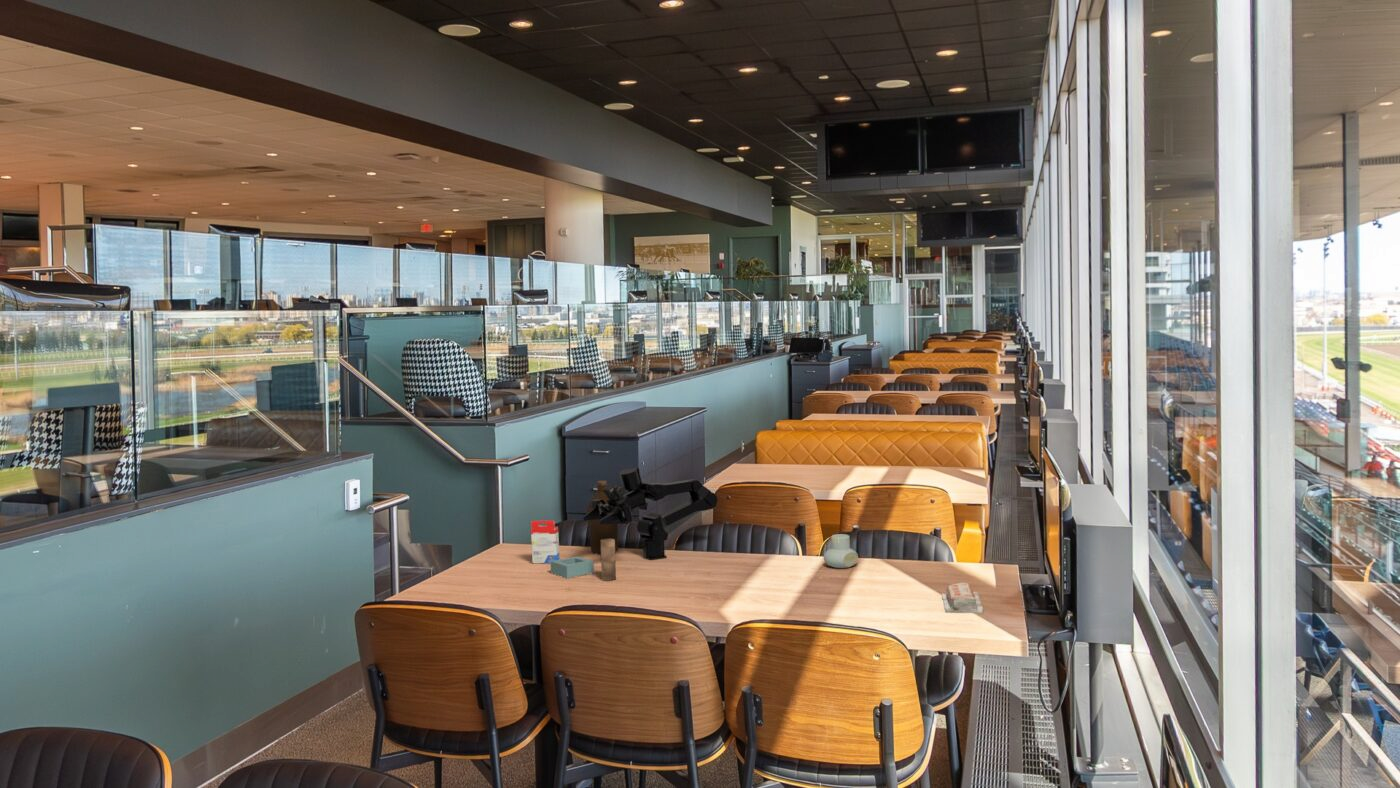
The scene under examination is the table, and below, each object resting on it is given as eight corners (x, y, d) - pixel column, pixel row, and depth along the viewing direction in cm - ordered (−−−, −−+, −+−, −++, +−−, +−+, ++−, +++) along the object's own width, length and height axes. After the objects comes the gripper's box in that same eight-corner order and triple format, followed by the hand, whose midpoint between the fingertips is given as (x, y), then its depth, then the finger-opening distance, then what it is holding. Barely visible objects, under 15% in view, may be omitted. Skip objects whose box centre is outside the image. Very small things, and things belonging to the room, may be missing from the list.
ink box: (560, 560, 362) (558, 517, 362) (556, 563, 358) (555, 520, 357) (535, 560, 363) (533, 518, 362) (531, 564, 358) (530, 520, 358)
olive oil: (625, 551, 374) (623, 480, 373) (599, 556, 368) (597, 484, 366) (609, 546, 383) (606, 477, 381) (583, 551, 376) (581, 481, 375)
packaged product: (983, 597, 283) (945, 596, 284) (983, 615, 283) (945, 614, 285) (977, 580, 300) (941, 580, 302) (977, 597, 301) (941, 597, 302)
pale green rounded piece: (839, 571, 335) (838, 540, 334) (819, 567, 341) (819, 536, 341) (862, 565, 342) (861, 534, 342) (842, 561, 349) (841, 531, 348)
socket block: (577, 568, 350) (576, 556, 350) (593, 573, 342) (593, 561, 342) (550, 573, 344) (550, 561, 343) (567, 578, 336) (566, 566, 335)
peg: (612, 577, 336) (611, 537, 335) (618, 579, 332) (616, 540, 331) (599, 578, 334) (598, 539, 333) (605, 581, 330) (603, 541, 329)
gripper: (606, 477, 360) (569, 494, 351) (639, 482, 346) (601, 501, 337) (614, 507, 363) (577, 526, 354) (647, 514, 349) (610, 533, 339)
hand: (591, 520), depth 346 cm, fingers open, 9 cm apart
